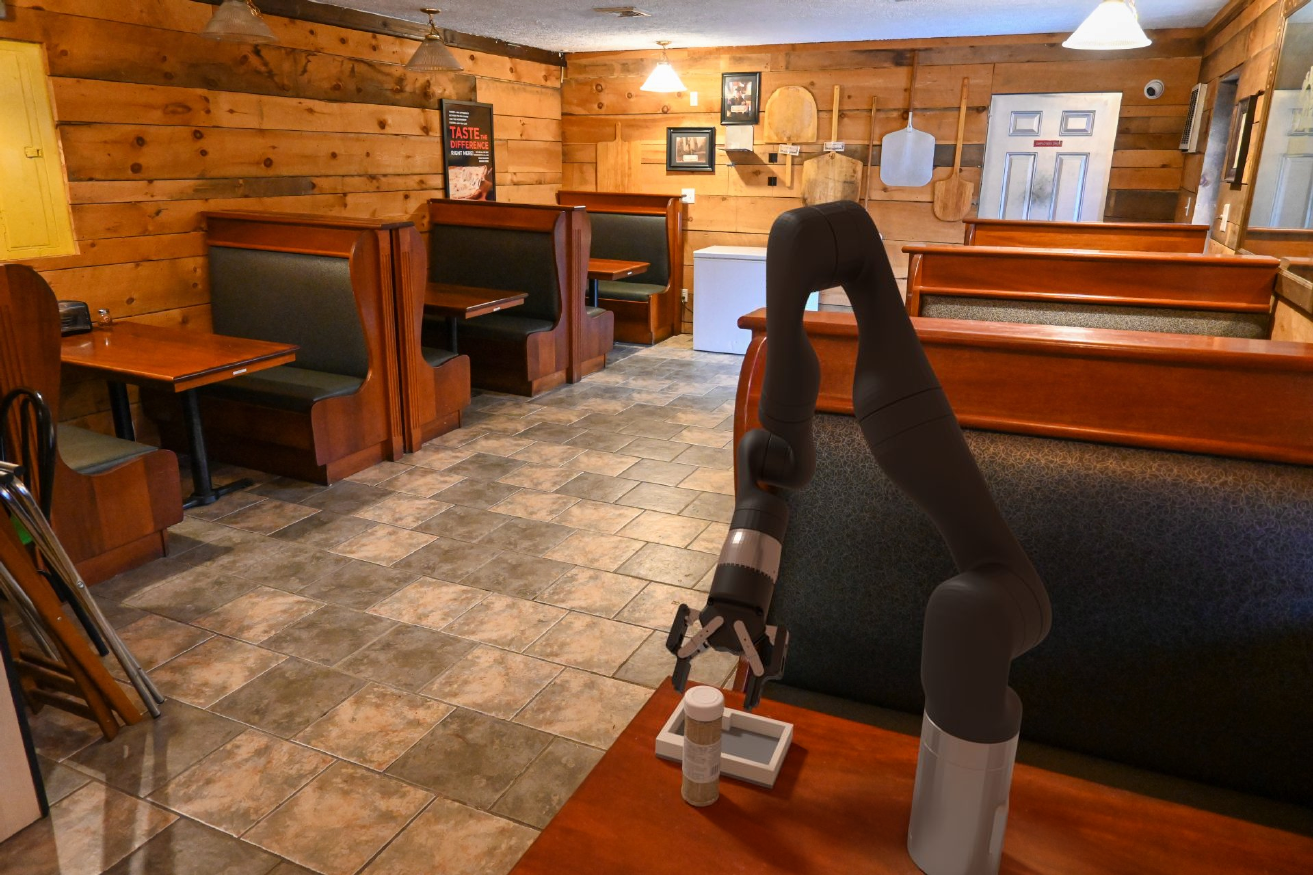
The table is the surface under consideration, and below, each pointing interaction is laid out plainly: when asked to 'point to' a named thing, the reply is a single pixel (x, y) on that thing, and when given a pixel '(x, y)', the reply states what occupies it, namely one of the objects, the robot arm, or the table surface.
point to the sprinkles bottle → (702, 745)
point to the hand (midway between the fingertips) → (712, 701)
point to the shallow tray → (736, 744)
